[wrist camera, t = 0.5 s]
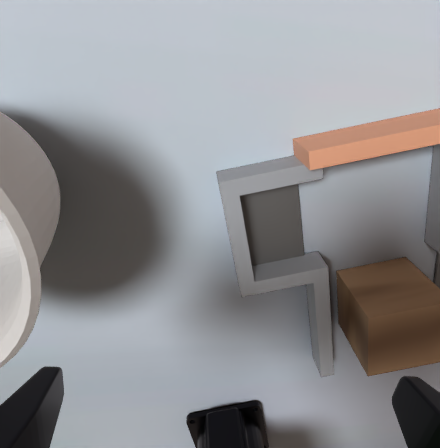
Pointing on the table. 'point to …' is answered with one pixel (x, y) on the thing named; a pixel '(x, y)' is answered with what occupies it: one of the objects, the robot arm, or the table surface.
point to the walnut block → (389, 315)
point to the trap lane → (291, 219)
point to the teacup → (23, 231)
